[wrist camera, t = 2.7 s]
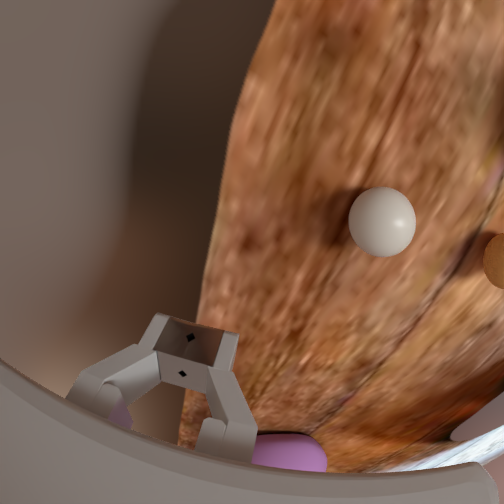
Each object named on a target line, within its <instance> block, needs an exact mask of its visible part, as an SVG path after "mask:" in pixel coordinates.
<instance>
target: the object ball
mask: <svg viewBox="0 0 504 504" xmlns="http://www.w3.org/2000/svg"><path fill="white" fill-rule="evenodd" d="M483 267H484V271H485V274H486V276H487V278H488V279H489V281H490V282H491V283H492V284H493V285H495V286H496V287H498V288H501V289H504V233H501V234H498V235H496V236H495V237H493V238H492V239H491V240H490V242H489V243H488V244H487V246H486V249H485V251H484V255H483Z"/></svg>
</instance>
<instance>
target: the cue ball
mask: <svg viewBox="0 0 504 504" xmlns="http://www.w3.org/2000/svg"><path fill="white" fill-rule="evenodd" d="M415 228H416V217H415V213H414V210H413V207H412V205H411V204H410V202H409V201H408V199H407V198H406V197H405V196H404V195H403V194H401V193H400V192H398V191H397V190H395V189H392V188H389V187H374V188H371V189H368V190H366V191H365V192H363V193H362V194H360V195H359V196H358V197H357V199H356V200H355V201H354V203H353V205H352V207H351V209H350V213H349V230H350V233H351V236H352V238H353V240H354V241H355V243H356V244H357V245H358V246H359V247H360V248H361V249H362V250H363V251H365V252H366V253H368V254H370V255H373V256H377V257H389V256H393V255H396V254H398V253H400V252H401V251H402V250H404V249H405V248H406V247H407V246H408V244H409V243H410V242H411V240H412V238H413V236H414V233H415Z"/></svg>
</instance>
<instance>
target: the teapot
mask: <svg viewBox="0 0 504 504" xmlns="http://www.w3.org/2000/svg"><path fill="white" fill-rule="evenodd" d="M251 464H257V465H263V466H270V467H277V468H284V469H293V470H302V471H314V472H326V467H327V457H326V455H325V453H324V451H323V449H322V447H321V446H320V444H319V443H318V442H317V441H316V440H315V439H313V438H312V437H310V436H307V435H300V434H267V435H258V436H256V441H255V446H254V451H253V456H252V462H251Z"/></svg>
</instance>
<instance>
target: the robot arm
mask: <svg viewBox="0 0 504 504" xmlns="http://www.w3.org/2000/svg"><path fill="white" fill-rule="evenodd" d="M238 339H239V334H237V333H233V332H229V331H225V330H221V329H217V328H213V327H209V326H204V325H200V324H195V323H191V322H188V321H185V320H181V319H178V318H175V317H172V316H167V315H164V314H161V313H157V314H156V315H155V316H154V317H153V319H152V321H151V323H150V324H149V326H148V328H147V330H146V332H145V333H144V335H143V337H142V339H141V340H140V342H139V344H138V345H136V344H133V345H131V346H129V347H127V348H125V349H123V350H121V351H119V352H117V353H116V354H114V355H112V356H110V357H108V358H106V359H104V360H102V361H100V362H98V363H96V364H94V365H92V366H90V367H88V368H87V369H84V370H83V371H81V373H80V375H79V376H78V378H77V380H76V381H75V383H74V384H73V386H72V388H71V389H70V391H69V393H68V395H67V396H66V398H63V397H61V396H59V395H57V394H55V393H54V392H52V391H50V390H48V389H47V388H45V387H43V386H42V385H40V384H38V383H37V382H35V381H34V380H32V379H30V378H29V377H27V376H25V375H24V374H23V373H21V372H20V371H18V370H17V369H15V368H13V367H12V366H11V365H9V364H8V363H6V362H5V361H4V360H2V359H1V358H0V504H499V495H498V488H497V485H496V483H495V481H494V480H493V478H492V477H491V476H490V475H489V474H488V472H487V471H486V470H485V469H484V468H483V467H482V466H481V465H480V464H479V463H478V462H467V463H462V464H457V465H451V466H445V467H439V468H432V469H424V470H414V471H403V472H388V473H330V472H314V471H302V470H293V469H284V468H277V467H270V466H263V465H257V464H251V462H252V456H253V451H254V446H255V441H256V435H257V430H258V427H257V424H256V422H255V420H254V418H253V416H252V414H251V411H250V409H249V407H248V405H247V402H246V400H245V398H244V396H243V393H242V391H241V389H240V387H239V384H238V382H237V380H236V377H235V375H234V373H233V372H232V368H233V364H234V359H235V354H236V349H237V344H238ZM161 381H164V382H167V383H171V384H174V385H178V386H181V387H185V388H188V389H191V390H194V391H198V392H201V393H204V394H206V398H207V401H208V404H209V407H210V410H211V414H212V417H213V418H207V419H205V420H204V421H203V424H202V427H201V430H200V433H199V437H198V440H197V443H196V446H195V449H194V450H191V449H187V448H184V447H180V446H177V445H174V444H171V443H167V442H164V441H162V440H159V439H156V438H153V437H150V436H147V435H144V434H141V433H139V432H136V431H134V430H131V426H132V424H133V420H132V418H131V416H130V414H129V411H128V409H127V406H128V405H130V404H131V403H133V402H134V401H135V400H137V399H138V398H139V397H141V396H142V395H144V394H145V393H146V392H148V391H149V390H151V389H152V388H153V387H155V386H156V385H157V384H159V383H160V382H161Z"/></svg>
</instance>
